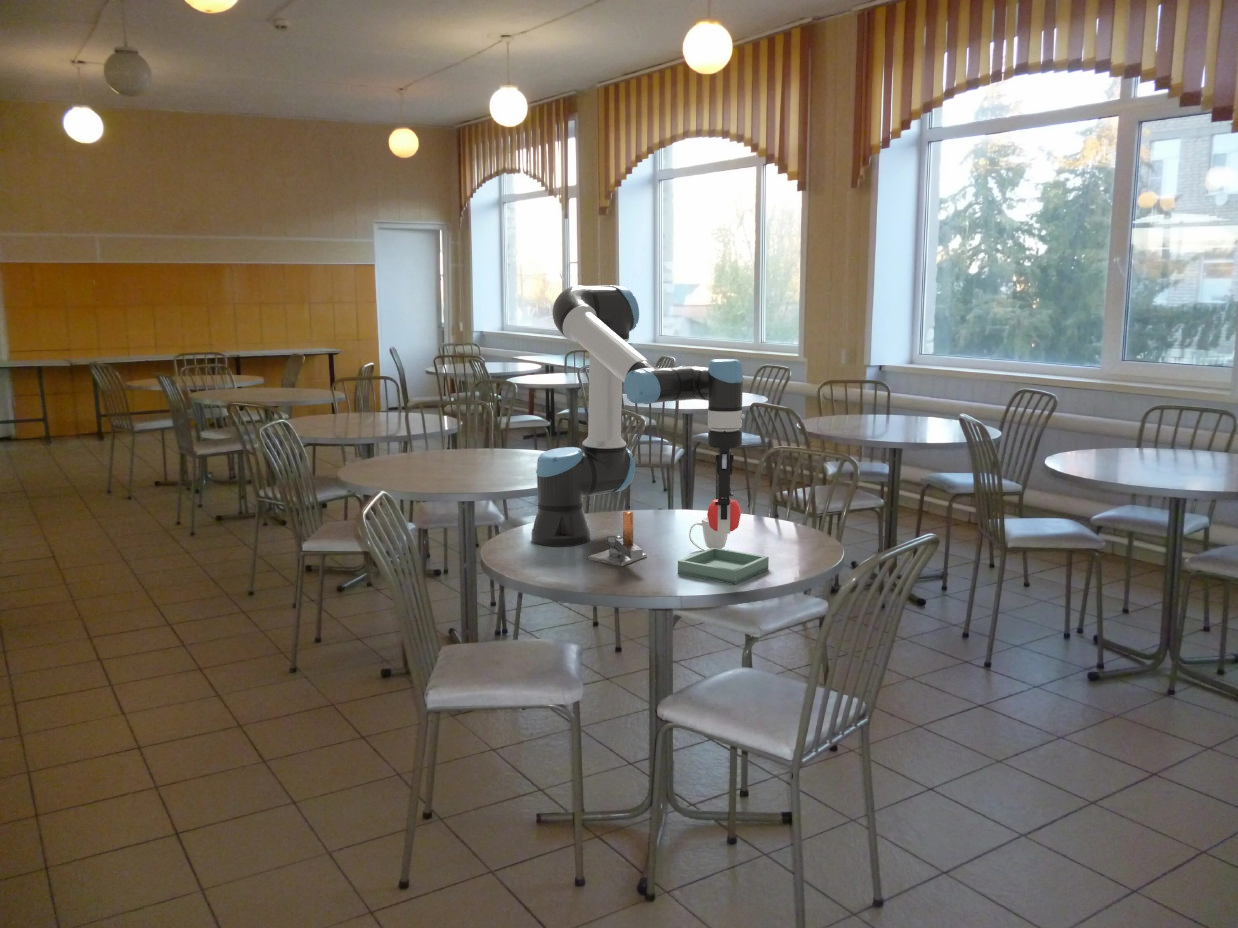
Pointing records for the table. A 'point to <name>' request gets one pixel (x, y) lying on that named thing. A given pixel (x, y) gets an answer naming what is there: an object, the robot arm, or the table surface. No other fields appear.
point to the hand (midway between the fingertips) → (724, 528)
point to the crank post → (613, 557)
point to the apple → (734, 515)
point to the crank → (626, 538)
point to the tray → (723, 565)
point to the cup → (710, 536)
